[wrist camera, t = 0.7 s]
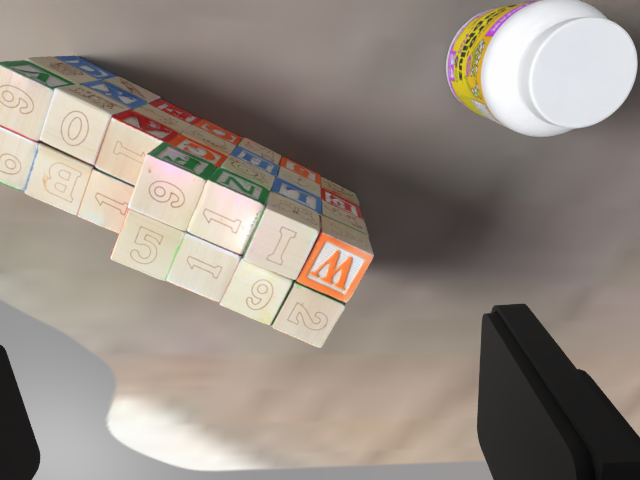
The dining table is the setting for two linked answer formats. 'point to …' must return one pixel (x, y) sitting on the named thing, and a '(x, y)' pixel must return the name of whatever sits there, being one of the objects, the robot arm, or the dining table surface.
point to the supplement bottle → (542, 66)
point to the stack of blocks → (183, 195)
